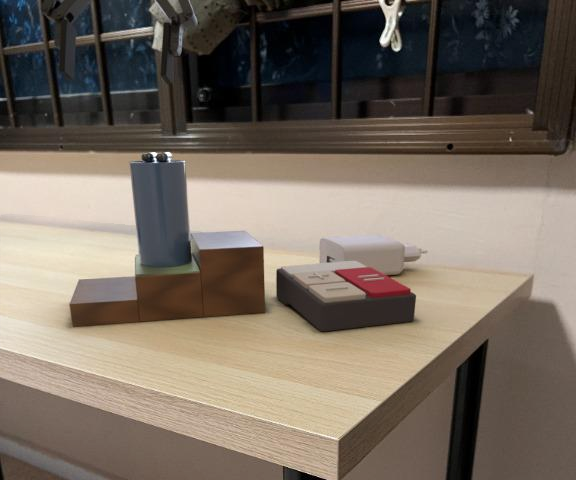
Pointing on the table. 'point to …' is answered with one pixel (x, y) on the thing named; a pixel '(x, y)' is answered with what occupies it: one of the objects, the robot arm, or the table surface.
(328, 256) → the charger
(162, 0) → the robot arm
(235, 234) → the step shelf
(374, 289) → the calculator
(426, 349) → the table surface
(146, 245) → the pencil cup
